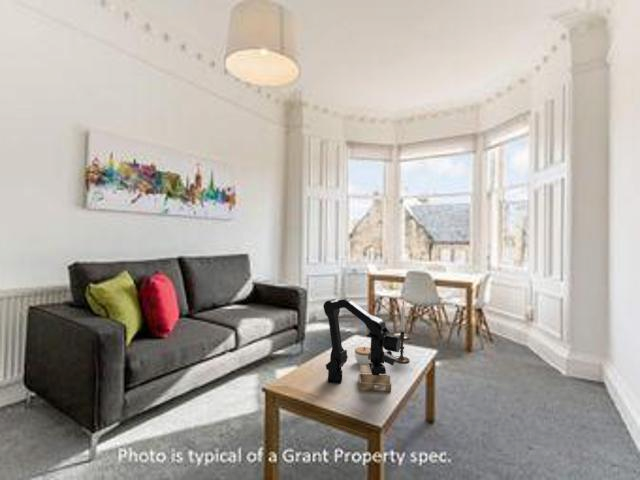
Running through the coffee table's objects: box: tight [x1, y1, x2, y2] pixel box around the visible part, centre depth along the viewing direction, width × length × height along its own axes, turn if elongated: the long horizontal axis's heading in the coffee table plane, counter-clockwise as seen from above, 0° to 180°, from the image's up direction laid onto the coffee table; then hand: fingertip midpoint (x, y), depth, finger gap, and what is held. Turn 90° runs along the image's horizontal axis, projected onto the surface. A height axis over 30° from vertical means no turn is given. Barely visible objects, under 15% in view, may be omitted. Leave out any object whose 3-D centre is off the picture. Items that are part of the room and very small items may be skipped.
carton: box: [357, 372, 392, 393], centre depth 167 cm, size 15×11×4 cm
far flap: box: [359, 365, 372, 374], centre depth 175 cm, size 12×5×1 cm, turn 87°
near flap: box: [362, 374, 391, 384], centre depth 160 cm, size 12×5×1 cm
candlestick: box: [392, 300, 413, 364], centre depth 201 cm, size 11×11×35 cm
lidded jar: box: [354, 346, 371, 366], centre depth 195 cm, size 11×11×9 cm
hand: (375, 381), depth 161 cm, fingers closed
